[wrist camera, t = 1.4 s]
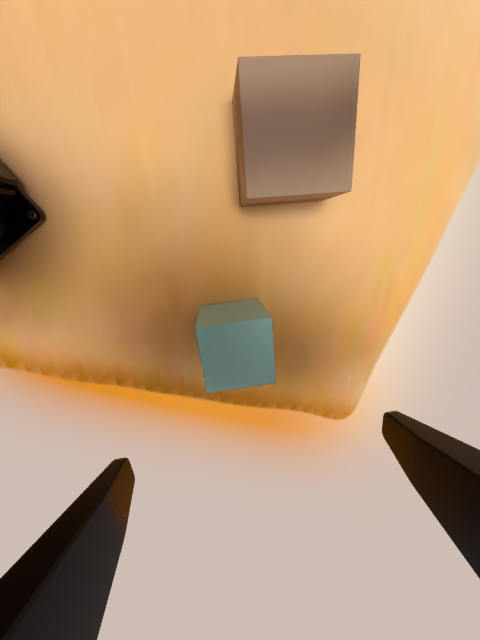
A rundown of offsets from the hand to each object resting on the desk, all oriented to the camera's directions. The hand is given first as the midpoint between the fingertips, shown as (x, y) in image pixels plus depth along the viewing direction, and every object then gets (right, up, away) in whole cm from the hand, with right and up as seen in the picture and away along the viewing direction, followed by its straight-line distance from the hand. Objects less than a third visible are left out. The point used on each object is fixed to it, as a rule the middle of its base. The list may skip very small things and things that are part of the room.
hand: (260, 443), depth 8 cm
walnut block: (+2, +15, +8) cm, 17 cm away
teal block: (-1, +4, +12) cm, 12 cm away
